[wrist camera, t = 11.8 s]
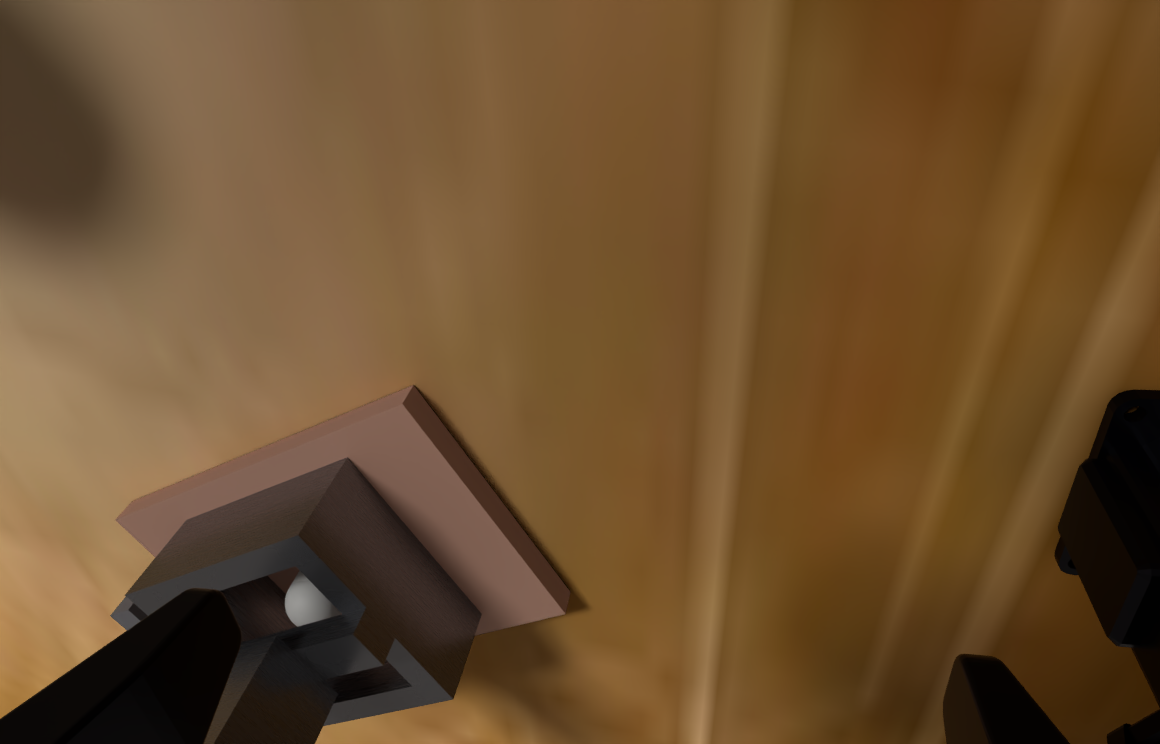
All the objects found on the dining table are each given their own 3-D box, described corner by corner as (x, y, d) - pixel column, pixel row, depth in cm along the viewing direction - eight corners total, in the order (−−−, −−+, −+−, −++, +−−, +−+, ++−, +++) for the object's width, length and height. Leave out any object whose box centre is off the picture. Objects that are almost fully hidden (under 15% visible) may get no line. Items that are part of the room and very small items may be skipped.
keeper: (413, 385, 25) (363, 468, 21) (570, 591, 29) (548, 688, 26) (131, 501, 30) (58, 581, 27) (297, 660, 34) (251, 746, 31)
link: (347, 457, 25) (65, 899, 15) (482, 613, 29) (329, 1066, 18) (186, 519, 29) (-141, 920, 18) (324, 654, 32) (116, 1059, 21)
